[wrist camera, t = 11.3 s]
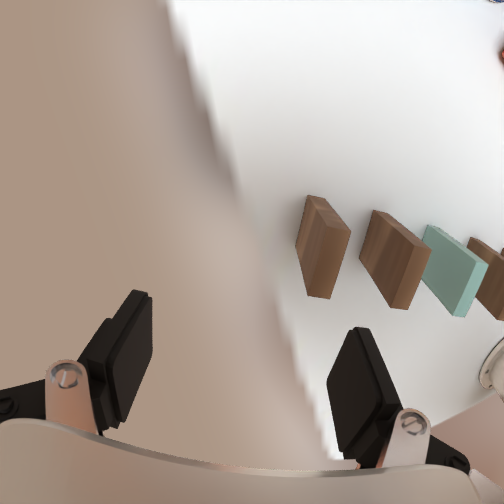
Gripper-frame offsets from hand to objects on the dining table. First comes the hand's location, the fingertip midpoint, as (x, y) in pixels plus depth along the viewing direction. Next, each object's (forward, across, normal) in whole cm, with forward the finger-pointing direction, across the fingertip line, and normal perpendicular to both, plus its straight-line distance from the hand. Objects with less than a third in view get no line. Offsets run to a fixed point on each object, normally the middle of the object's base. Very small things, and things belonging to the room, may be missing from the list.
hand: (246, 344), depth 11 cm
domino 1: (+18, -5, 0) cm, 19 cm away
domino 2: (+18, -12, 0) cm, 21 cm away
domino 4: (+18, -24, 0) cm, 30 cm away
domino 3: (+18, -18, 0) cm, 25 cm away
